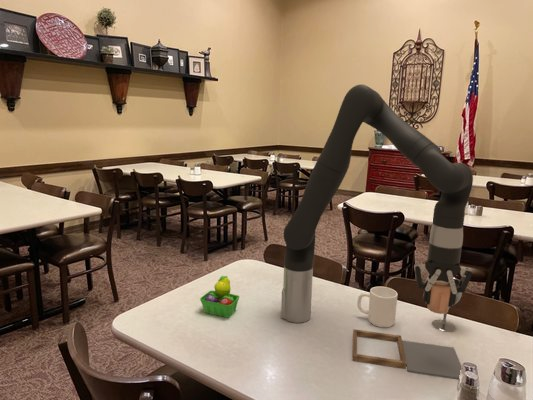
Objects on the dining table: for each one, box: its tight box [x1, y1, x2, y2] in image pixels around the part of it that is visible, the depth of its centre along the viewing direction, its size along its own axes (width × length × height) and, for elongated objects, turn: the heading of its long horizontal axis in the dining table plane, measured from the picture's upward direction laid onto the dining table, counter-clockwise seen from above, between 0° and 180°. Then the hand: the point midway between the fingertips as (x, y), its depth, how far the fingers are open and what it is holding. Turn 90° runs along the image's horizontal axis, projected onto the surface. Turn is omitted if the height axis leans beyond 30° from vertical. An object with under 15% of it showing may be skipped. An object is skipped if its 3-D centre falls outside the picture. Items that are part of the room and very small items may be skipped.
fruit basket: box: [199, 275, 240, 318], centre depth 128 cm, size 11×9×11 cm
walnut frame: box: [352, 328, 407, 370], centre depth 109 cm, size 14×14×2 cm
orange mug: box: [427, 281, 451, 315], centre depth 100 cm, size 7×5×7 cm
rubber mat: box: [402, 339, 463, 380], centre depth 105 cm, size 14×14×1 cm
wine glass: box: [431, 277, 463, 333], centre depth 121 cm, size 8×8×15 cm
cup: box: [356, 286, 399, 328], centre depth 124 cm, size 8×12×10 cm
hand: (438, 304), depth 102 cm, fingers closed on orange mug, 5 cm apart
